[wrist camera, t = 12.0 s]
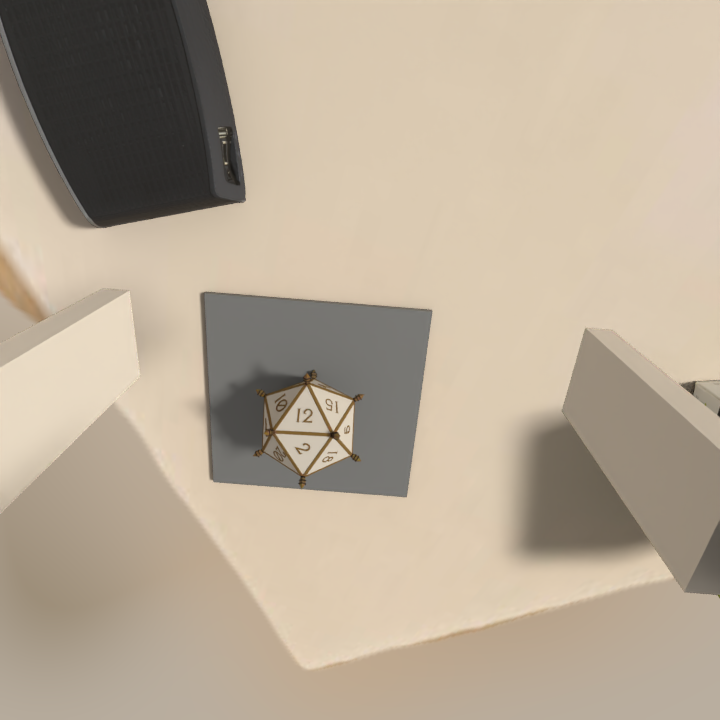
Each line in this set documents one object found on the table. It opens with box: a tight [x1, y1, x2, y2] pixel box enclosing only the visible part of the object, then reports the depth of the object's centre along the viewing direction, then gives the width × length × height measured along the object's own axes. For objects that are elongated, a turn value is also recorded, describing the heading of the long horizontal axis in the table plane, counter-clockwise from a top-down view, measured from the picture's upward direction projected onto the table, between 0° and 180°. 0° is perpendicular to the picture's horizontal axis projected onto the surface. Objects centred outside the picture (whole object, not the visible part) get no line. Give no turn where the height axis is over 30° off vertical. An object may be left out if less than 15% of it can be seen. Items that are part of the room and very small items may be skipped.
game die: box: [253, 370, 365, 489], centre depth 38 cm, size 9×8×10 cm
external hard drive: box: [0, 0, 246, 228], centre depth 32 cm, size 13×19×4 cm
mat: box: [204, 292, 432, 497], centre depth 42 cm, size 18×18×1 cm
